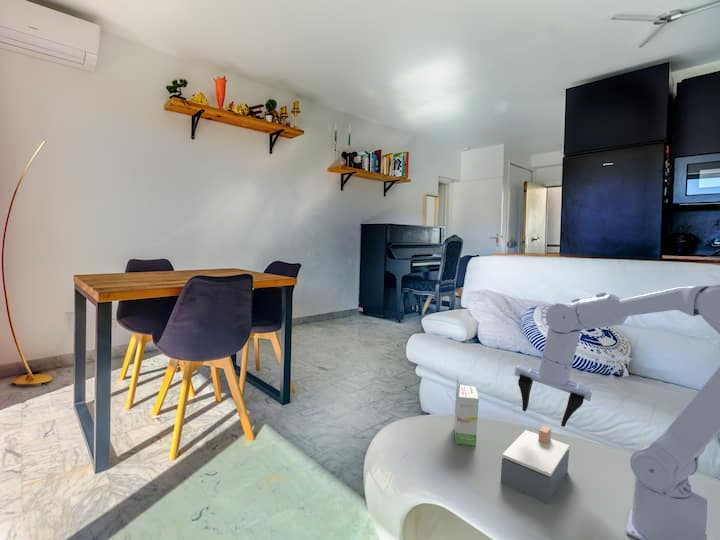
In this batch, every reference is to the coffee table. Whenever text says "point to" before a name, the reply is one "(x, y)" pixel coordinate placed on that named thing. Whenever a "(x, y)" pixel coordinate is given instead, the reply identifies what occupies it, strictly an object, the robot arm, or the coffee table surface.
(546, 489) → the box
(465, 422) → the ink box
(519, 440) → the lid
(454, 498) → the coffee table surface
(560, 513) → the coffee table surface
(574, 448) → the coffee table surface
